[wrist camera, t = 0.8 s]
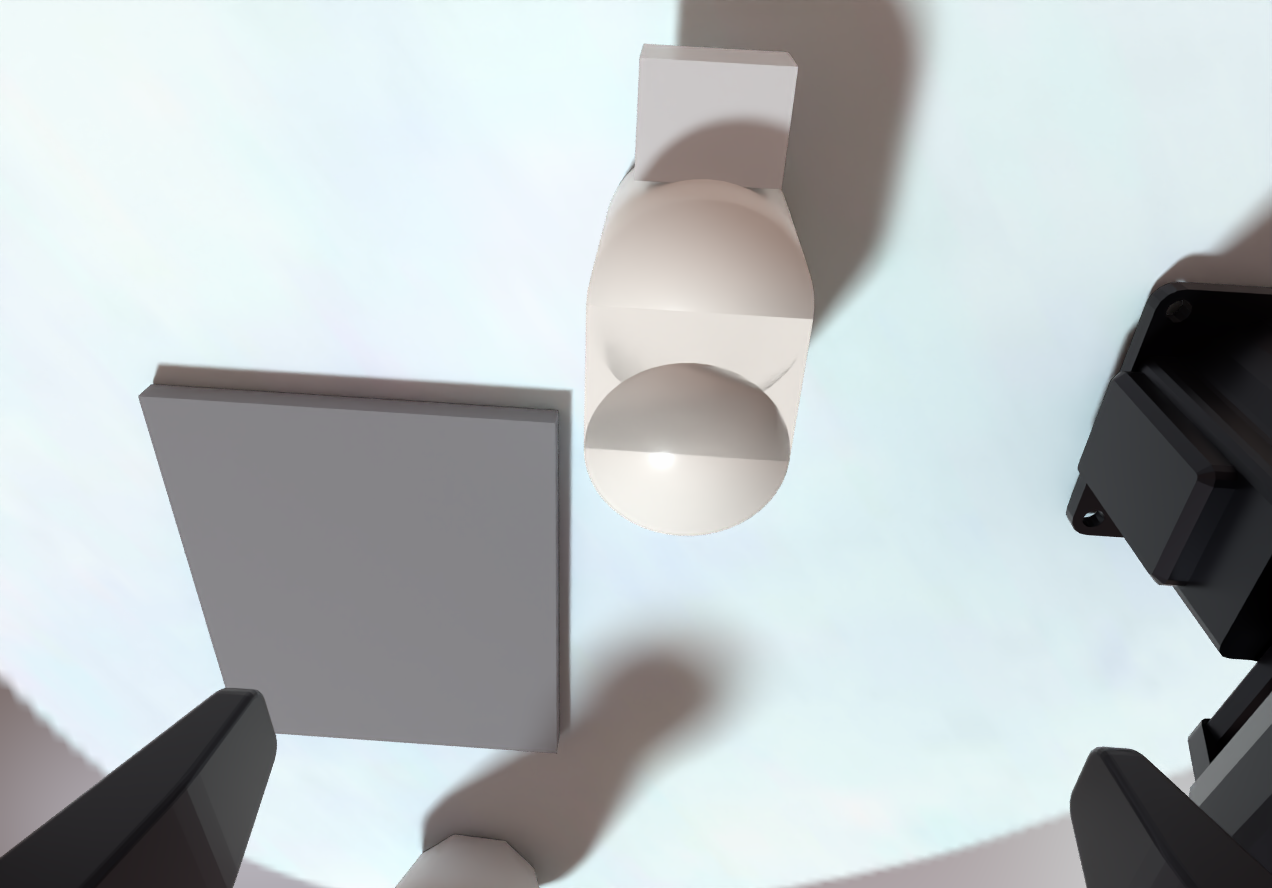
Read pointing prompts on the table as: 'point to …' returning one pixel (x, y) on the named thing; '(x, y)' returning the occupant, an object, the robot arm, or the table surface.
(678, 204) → the plug
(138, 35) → the table surface
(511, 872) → the salt shaker
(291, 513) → the coaster
